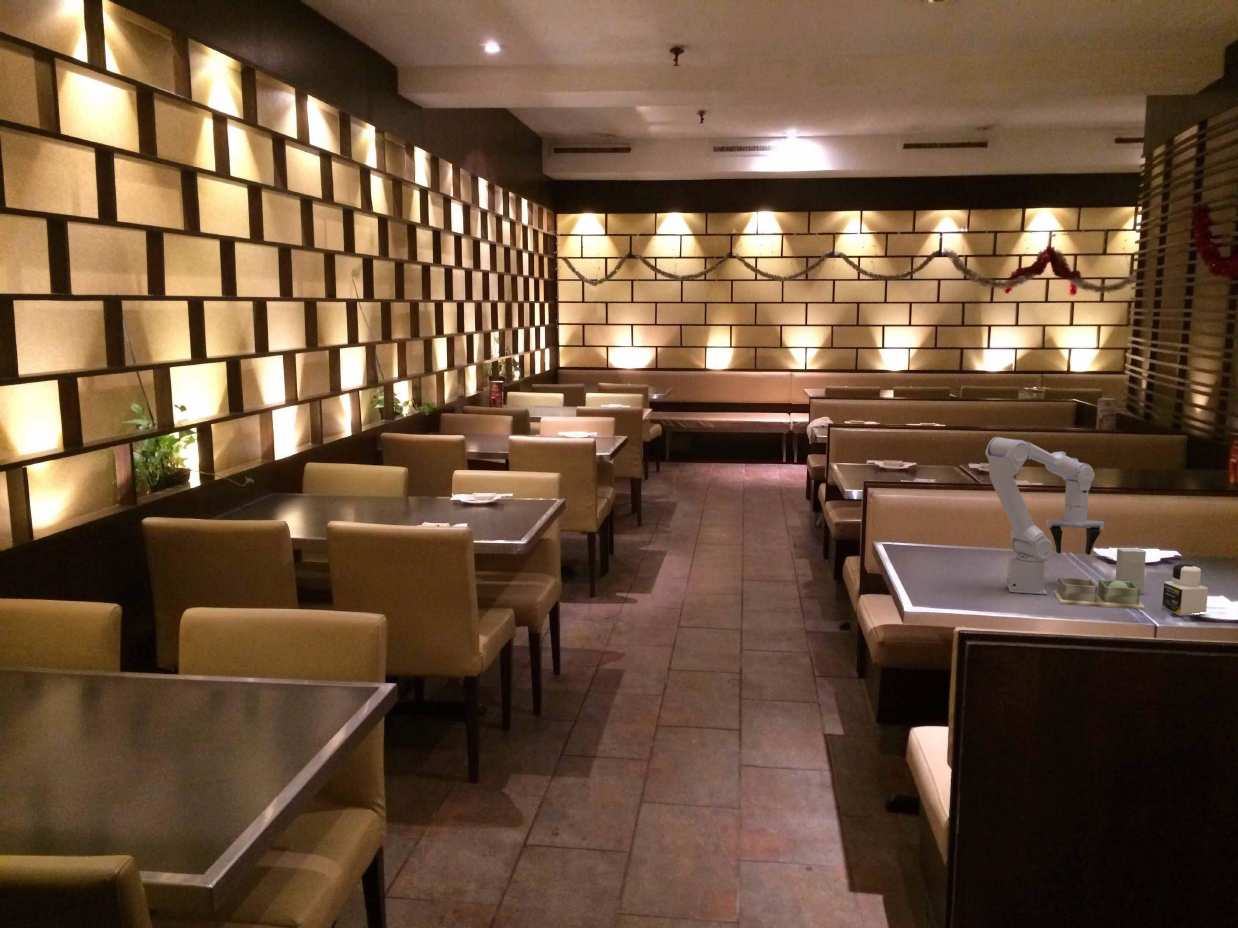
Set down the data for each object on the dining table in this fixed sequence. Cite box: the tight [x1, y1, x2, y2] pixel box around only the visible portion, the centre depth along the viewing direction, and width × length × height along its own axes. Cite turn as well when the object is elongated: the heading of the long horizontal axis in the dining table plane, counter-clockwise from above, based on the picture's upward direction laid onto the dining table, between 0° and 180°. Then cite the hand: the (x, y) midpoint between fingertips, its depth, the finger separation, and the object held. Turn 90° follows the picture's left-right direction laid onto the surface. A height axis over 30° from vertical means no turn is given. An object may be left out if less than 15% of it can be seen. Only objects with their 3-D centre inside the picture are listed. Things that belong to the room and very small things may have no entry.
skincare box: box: [1114, 547, 1147, 595], centre depth 265 cm, size 6×4×12 cm
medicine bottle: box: [1161, 563, 1209, 617], centre depth 246 cm, size 7×7×12 cm
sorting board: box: [1053, 576, 1146, 610], centre depth 256 cm, size 20×11×5 cm, turn 75°
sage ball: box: [1108, 580, 1128, 588], centre depth 256 cm, size 5×5×5 cm
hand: (1073, 553), depth 271 cm, fingers open, 7 cm apart
